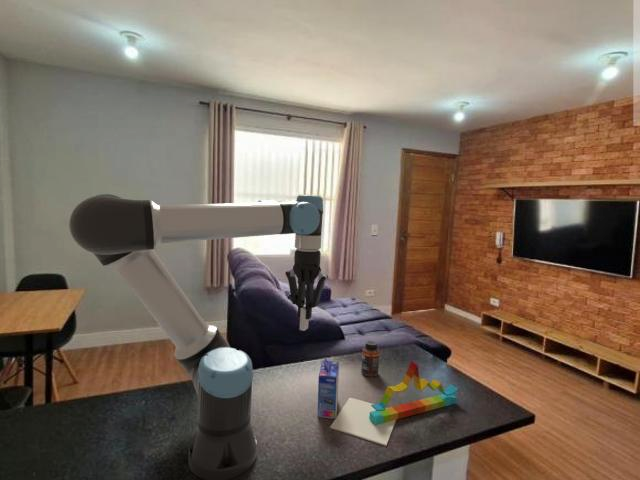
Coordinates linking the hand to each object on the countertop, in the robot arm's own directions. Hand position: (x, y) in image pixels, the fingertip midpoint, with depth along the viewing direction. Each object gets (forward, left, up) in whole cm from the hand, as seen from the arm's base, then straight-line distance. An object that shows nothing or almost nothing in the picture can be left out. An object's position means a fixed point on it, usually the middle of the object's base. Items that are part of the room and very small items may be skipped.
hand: (303, 328), depth 103 cm
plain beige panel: (+20, 0, -22) cm, 30 cm away
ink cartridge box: (+9, 0, -22) cm, 24 cm away
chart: (+32, +11, -22) cm, 40 cm away
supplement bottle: (+14, +27, -22) cm, 38 cm away
